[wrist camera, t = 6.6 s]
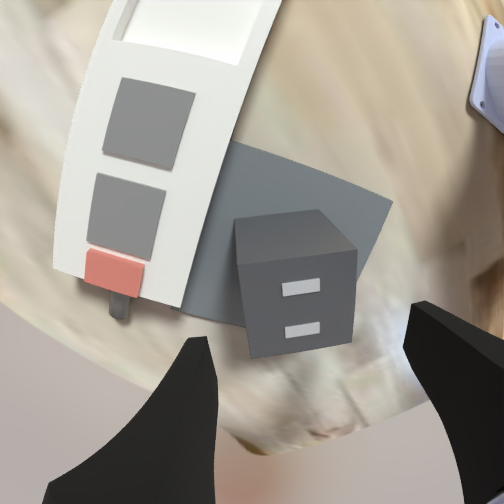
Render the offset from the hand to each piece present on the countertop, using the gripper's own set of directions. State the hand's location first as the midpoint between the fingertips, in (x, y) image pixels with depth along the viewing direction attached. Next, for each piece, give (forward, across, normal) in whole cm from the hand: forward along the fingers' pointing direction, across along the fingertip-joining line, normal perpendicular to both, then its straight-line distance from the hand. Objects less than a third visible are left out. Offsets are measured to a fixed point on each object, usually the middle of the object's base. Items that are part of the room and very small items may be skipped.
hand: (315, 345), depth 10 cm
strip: (+8, +5, -9) cm, 13 cm away
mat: (+8, 0, 0) cm, 8 cm away
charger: (+8, 0, 0) cm, 8 cm away
